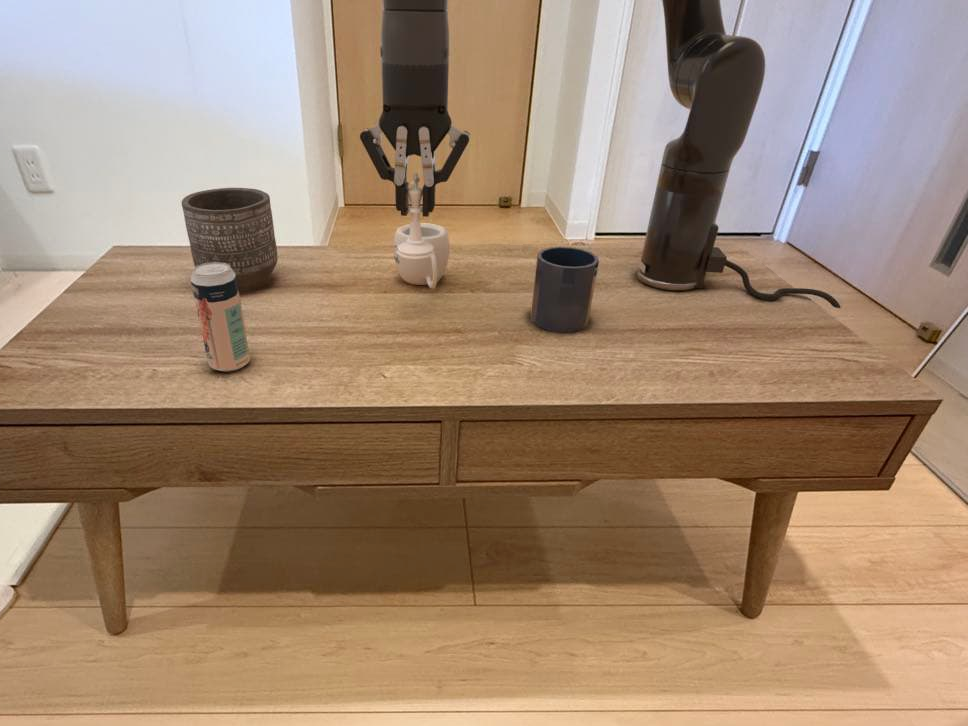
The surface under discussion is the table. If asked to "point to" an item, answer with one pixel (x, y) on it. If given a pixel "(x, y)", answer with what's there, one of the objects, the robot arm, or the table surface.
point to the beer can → (220, 316)
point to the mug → (426, 268)
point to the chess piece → (415, 227)
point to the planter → (233, 233)
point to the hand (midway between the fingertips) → (415, 214)
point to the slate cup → (563, 288)
